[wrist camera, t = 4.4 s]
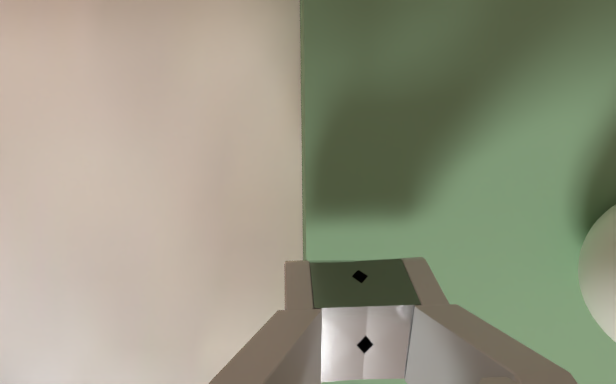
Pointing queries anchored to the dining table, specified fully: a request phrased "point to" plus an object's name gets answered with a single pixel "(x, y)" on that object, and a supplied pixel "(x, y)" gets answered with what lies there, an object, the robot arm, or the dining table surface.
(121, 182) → the dining table surface
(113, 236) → the dining table surface
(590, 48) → the deck
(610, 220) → the ball
